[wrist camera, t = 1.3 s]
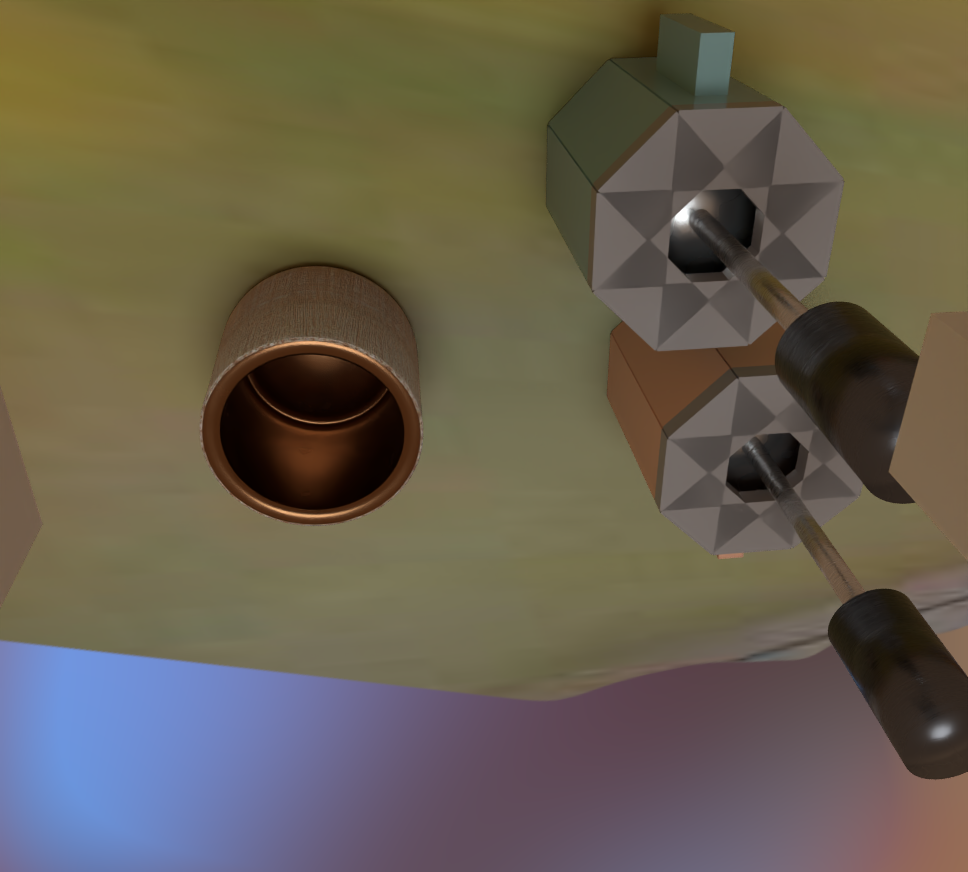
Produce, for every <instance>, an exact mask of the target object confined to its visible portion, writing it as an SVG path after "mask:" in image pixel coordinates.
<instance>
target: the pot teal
mask: <svg viewBox="0 0 968 872" xmlns="http://www.w3.org/2000/svg"><path fill="white" fill-rule="evenodd" d="M734 36H735V32H733V31H731V30H729V29H726V28H724V27H722V26H719V25H717V24H714V23H712V22H710V21H707V20H705V19H703V18H700V17H698V16H696V15H693V14H691V13H686V14H660V27H659V39H658V52H657V57H644V58H615V59H610V61H609V60H607V61H606V62H605V64H604V65H603V66H602V67H601V68H600V69H599V70H598V71H597V72H596V73H595V74H594V75H593V76H592V77H591V78H590V79H589V80H588V82H587V83H586V84H585V85H584V86H583V87H582V88H581V89H580V90H579V91H578V92H577V93H576V94H575V95H574V96H573V97H572V98H571V100H570V101H569V102H568V103H567V104H566V105H565V106H564V107H563V108H562V109H561V110H560V111H559V112H558V113H557V114H556V115H555V117H554V118H553V119H552V120H551V121H550V122H549V125H547V174H546V207H547V209H548V211H549V212H550V214H551V216H552V218H553V220H554V222H555V224H556V225H557V227H558V229H559V231H560V233H561V235H562V237H563V238H564V240H565V242H566V244H567V246H568V248H569V249H570V251H571V253H572V255H573V257H574V259H575V261H576V262H577V264H578V266H579V268H580V270H581V272H582V273H583V275H584V277H585V279H586V281H587V283H588V285H589V286H590V288H591V290H592V292H593V293H594V294H595V295H596V296H597V297H598V298H599V299H600V300H601V301H602V302H604V303H605V304H606V305H607V306H608V307H609V308H610V309H611V310H612V311H613V312H614V313H615V314H616V315H617V316H618V317H620V318H621V319H622V320H623V321H624V322H625V323H626V324H627V325H628V326H629V327H630V328H631V329H632V330H633V331H634V332H636V333H637V334H638V335H639V336H640V337H641V338H642V339H643V340H644V341H645V342H646V343H647V344H648V345H649V346H650V347H651V348H653V349H654V350H656V351H671V350H687V349H703V348H719V347H736V346H748V343H749V344H752V343H753V342H754V341H755V340H756V339H757V338H758V337H760V336H761V335H762V334H763V333H764V332H765V331H766V330H768V329H769V328H770V327H771V326H772V325H773V324H774V323H776V322H777V321H776V320H775V319H774V318H773V317H772V316H771V314H770V313H769V312H768V311H767V310H766V309H765V308H764V307H763V306H762V305H761V304H760V303H759V301H758V300H757V299H756V298H755V297H754V296H753V295H752V294H751V293H750V292H749V291H748V289H747V288H746V287H745V286H744V285H743V284H742V283H741V282H740V281H739V280H738V279H737V278H736V276H735V275H734V274H733V273H732V272H731V271H730V270H729V269H728V268H726V269H725V270H723V271H722V272H715V273H696V274H684V272H683V271H682V270H681V269H680V268H679V267H678V266H677V265H676V264H675V263H674V262H673V261H672V260H671V259H670V258H669V257H668V250H669V239H670V228H671V220H672V219H673V218H674V217H675V216H676V215H677V214H678V213H679V212H680V211H681V210H682V209H683V208H684V207H685V206H686V205H687V204H688V203H689V202H690V201H691V200H693V199H694V198H695V197H696V196H697V195H698V194H699V193H700V192H701V191H702V190H723V189H740V190H741V191H742V192H743V193H744V195H745V196H746V197H747V198H748V199H749V200H750V201H751V202H752V204H753V205H754V206H755V207H756V214H755V221H754V228H753V235H752V242H751V246H750V247H749V248H748V249H747V250H748V251H749V252H750V253H751V254H752V255H753V256H754V257H755V258H756V259H757V260H758V261H759V262H760V263H761V264H762V265H763V266H764V267H765V268H766V269H767V270H768V271H769V272H770V273H771V274H772V275H773V276H774V277H775V278H776V279H777V280H778V281H779V282H780V283H781V284H782V285H783V286H784V287H785V288H786V289H788V290H789V291H790V292H791V293H792V294H793V295H794V296H795V297H796V298H797V299H798V300H799V301H801V300H802V299H803V298H804V297H805V296H806V295H808V294H809V293H810V292H811V291H812V290H813V289H814V288H816V287H817V286H818V285H819V284H820V283H821V282H822V281H824V280H825V279H824V278H823V277H826V276H827V270H828V265H829V260H830V255H831V249H832V244H833V239H834V233H835V228H836V223H837V217H838V212H839V207H840V202H841V196H842V191H843V186H844V181H843V180H844V179H843V178H842V176H841V175H840V174H839V173H838V171H837V170H836V169H835V168H834V166H833V165H832V164H831V163H830V161H829V160H828V159H827V158H826V157H825V155H824V154H823V153H822V152H821V150H820V149H819V148H818V147H817V145H816V144H815V143H814V142H813V141H812V139H811V138H810V137H809V136H808V134H807V133H806V132H805V131H804V129H803V128H802V127H801V126H800V124H799V123H798V122H797V121H796V120H795V118H794V117H793V116H792V115H791V113H790V112H789V111H788V110H787V108H786V107H784V106H782V105H781V104H779V103H777V102H775V101H773V100H772V99H770V98H768V97H766V96H764V95H762V94H761V93H759V92H757V91H755V90H753V89H752V88H750V87H748V86H746V85H744V84H743V83H741V82H739V81H737V80H735V79H733V78H732V77H730V70H731V61H732V53H733V44H734Z"/></svg>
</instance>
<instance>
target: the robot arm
mask: <svg viewBox="0 0 968 872" xmlns="http://www.w3.org/2000/svg"><path fill="white" fill-rule="evenodd" d="M889 473H890V474H891V475H892V476H893V477H894V478H895V479H896V481H897V482H898V483H899V484H900V485H901V486H902V487H903V489H904V490H905V491H906V492H907V493H908V494H909V495H910V496H911V498H912V499H913V500H914V501H915V502H916V503H917V504H918V506H919V507H920V508H921V509H922V510H923V511H924V512H925V513H926V515H927V516H928V517H929V518H930V519H931V520H932V521H933V523H934V524H935V525H936V526H937V527H938V528H939V529H940V530H941V532H942V533H943V534H944V535H945V536H946V537H947V538H948V540H949V541H950V542H951V543H952V544H953V545H954V546H955V547H956V549H957V550H958V551H959V552H960V553H961V554H962V555H963V557H964V558H965V559H966V560H967V561H968V312H946V313H931V316H930V320H929V323H928V327H927V331H926V334H925V338H924V342H923V346H922V349H921V353H920V357H919V360H918V364H917V368H916V372H915V375H914V379H913V383H912V386H911V390H910V394H909V398H908V401H907V405H906V409H905V412H904V416H903V420H902V424H901V427H900V431H899V435H898V438H897V442H896V446H895V450H894V453H893V457H892V461H891V464H890V468H889ZM41 526H42V521H41V517H40V514H39V511H38V508H37V504H36V501H35V498H34V495H33V491H32V488H31V485H30V482H29V478H28V475H27V472H26V469H25V465H24V462H23V459H22V455H21V452H20V449H19V446H18V442H17V439H16V436H15V433H14V429H13V426H12V423H11V420H10V416H9V413H8V410H7V406H6V403H5V400H4V397H3V393H2V390H1V387H0V607H1V606H2V604H3V602H4V600H5V598H6V596H7V594H8V592H9V590H10V588H11V586H12V584H13V582H14V580H15V578H16V576H17V574H18V572H19V570H20V568H21V566H22V564H23V562H24V560H25V558H26V556H27V554H28V552H29V550H30V548H31V546H32V544H33V542H34V540H35V538H36V536H37V534H38V532H39V530H40V528H41Z"/></svg>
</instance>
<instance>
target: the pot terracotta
mask: <svg viewBox="0 0 968 872" xmlns="http://www.w3.org/2000/svg"><path fill="white" fill-rule="evenodd" d="M784 332H785V330H784V329H783V328H782V326H781V325H780V324H779V323H778V322H776V323H774V324H773V325H772V326H771V327H770V328H769V329H768V330H766V331H765V332H764V333H763V334H762V335H761V336H760V337H758V338H757V339H756V340H755V341H754V342H753V343H752V344H749V343H748V346H736V347H719V348H703V349H687V350H671V351H656V350H654V349H653V348H651V347H650V346H649V345H648V344H647V343H646V342H645V341H644V340H643V339H642V338H641V337H640V336H639V335H638V334H637V333H636V332H634V331H633V330H632V329H631V328H630V327H629V326H628V325H627V324H626V323H625V322H624V321H622V322H621V323H620V324H619V325H618V326H617V327H616V328H615V329H614V330H613V331H612V333H611V336H610V352H609V368H608V384H607V398H608V400H609V402H610V404H611V406H612V409H613V411H614V413H615V415H616V417H617V419H618V422H619V424H620V426H621V428H622V430H623V432H624V435H625V437H626V439H627V441H628V443H629V445H630V448H631V450H632V452H633V454H634V456H635V459H636V461H637V463H638V465H639V467H640V469H641V472H642V474H643V476H644V478H645V480H646V482H647V485H648V487H649V489H650V491H651V493H652V495H653V498H654V500H655V502H656V504H657V506H658V509H659V511H660V513H661V514H663V515H664V516H665V517H666V518H668V519H669V520H670V521H671V522H672V523H674V524H675V525H676V526H677V527H678V528H680V529H681V530H682V531H683V532H685V533H686V534H687V535H688V536H689V537H691V538H692V539H693V540H694V541H695V542H697V543H698V544H699V545H700V546H702V547H703V548H704V549H705V550H706V551H708V552H709V553H710V554H711V555H712V554H713V555H717V557H718V559H724V558H737V557H743V553H746V552H758V551H770V550H783V549H791V548H794V547H795V546H797V545H798V544H799V543H800V542H802V541H801V539H800V538H799V536H798V535H797V533H796V531H795V530H794V528H793V527H792V525H791V524H790V522H789V521H788V519H787V518H786V516H785V515H784V513H783V512H782V510H781V508H780V507H779V505H778V504H777V502H776V501H775V499H774V498H773V496H772V495H771V493H770V492H769V490H755V491H741V492H738V491H737V490H736V489H735V488H734V487H732V486H731V485H730V484H729V483H728V482H727V481H726V477H727V470H728V463H729V457H730V456H731V455H733V454H734V453H735V452H736V451H737V450H739V449H740V448H741V447H742V446H743V445H745V444H746V443H747V442H748V441H749V440H751V439H752V438H753V437H754V436H755V435H763V434H777V433H790V434H791V435H793V436H794V437H795V438H796V439H797V440H798V441H799V442H800V447H799V452H798V458H797V463H796V468H795V469H794V470H793V471H792V472H791V473H789V474H788V475H787V476H786V479H787V480H788V481H789V483H790V484H791V486H792V487H793V489H794V490H795V491H796V493H797V494H798V496H799V497H800V499H801V500H802V501H803V503H804V504H805V506H806V507H807V509H808V510H809V512H810V513H811V514H812V516H813V517H814V519H815V520H816V522H817V523H818V524H819V526H820V527H821V526H822V525H824V524H825V523H826V522H828V521H829V520H830V519H831V518H833V517H834V516H835V515H837V514H838V513H839V512H841V511H842V510H843V509H844V508H846V507H847V506H848V505H850V504H851V503H852V502H853V501H855V500H856V499H857V498H859V497H858V496H860V493H861V489H862V485H863V483H862V481H861V480H860V479H859V478H858V476H857V475H856V474H855V473H854V472H853V470H852V469H851V468H850V467H849V465H848V464H847V463H846V462H845V461H844V459H843V458H842V457H841V456H840V454H839V453H838V452H837V451H836V450H835V448H834V447H833V446H832V445H831V443H830V442H829V441H828V440H827V439H826V437H825V436H824V435H823V434H822V432H821V431H820V430H819V429H818V427H817V426H816V425H815V424H814V423H813V421H812V420H811V419H810V418H809V416H808V415H807V414H806V413H805V412H804V410H803V409H802V408H801V407H800V405H799V404H798V403H797V402H796V401H795V399H794V398H793V397H792V396H791V394H790V393H789V392H788V391H787V390H786V388H785V387H784V386H783V385H782V383H781V382H780V380H779V379H778V376H777V374H776V370H775V353H776V349H777V346H778V343H779V341H780V339H781V337H782V335H783V334H784Z"/></svg>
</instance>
